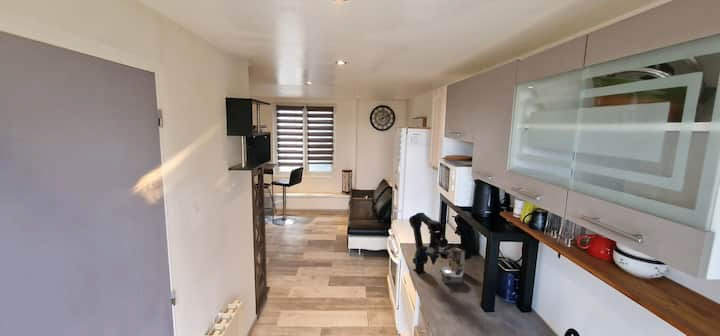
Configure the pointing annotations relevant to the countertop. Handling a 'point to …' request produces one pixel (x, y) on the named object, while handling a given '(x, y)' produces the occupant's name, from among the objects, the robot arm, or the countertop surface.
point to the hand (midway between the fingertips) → (433, 264)
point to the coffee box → (457, 258)
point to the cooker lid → (452, 271)
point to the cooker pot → (451, 280)
